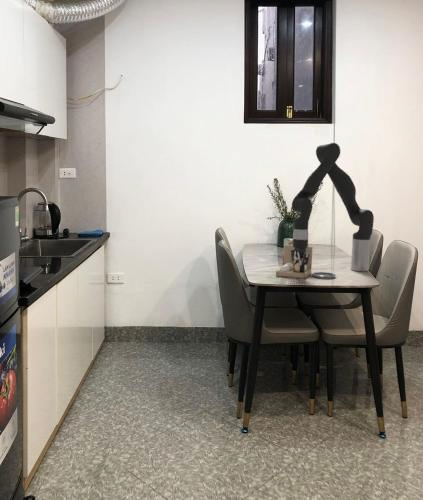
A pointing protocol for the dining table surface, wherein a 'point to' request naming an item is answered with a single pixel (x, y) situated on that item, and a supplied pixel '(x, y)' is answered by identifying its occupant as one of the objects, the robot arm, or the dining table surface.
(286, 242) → the candy bar box
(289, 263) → the white egg
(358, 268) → the robot arm
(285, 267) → the white egg
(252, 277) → the dining table surface
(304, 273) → the egg carton
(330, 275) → the slate saucer
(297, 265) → the brown egg
